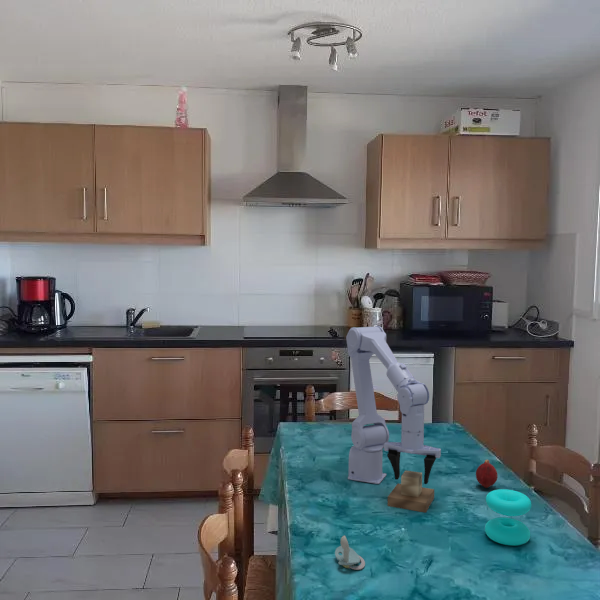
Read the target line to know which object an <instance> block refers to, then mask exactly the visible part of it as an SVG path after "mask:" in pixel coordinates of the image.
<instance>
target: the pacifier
mask: <svg viewBox="0 0 600 600" xmlns="http://www.w3.org/2000/svg"><path fill="white" fill-rule="evenodd" d="M334 555H335V558H336V560H338V565H341V566H342V567H344V568H346V569H352V570H356V571H359V570H363V569H364V567H365V565H366V561H365V559H364V558H363V557H362V556H360V555H359V554H358V553H357V552H356V550H355V549H353V548H352V547H350V545H349V541H348V539H347V537H346V535H343V536H342V537H341V538H340V546H338V547H336V548H335V551H334ZM359 563H360V564H359ZM356 564H359V565H356Z"/></svg>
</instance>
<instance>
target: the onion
mask: <svg viewBox="0 0 600 600" xmlns="http://www.w3.org/2000/svg"><path fill="white" fill-rule="evenodd" d="M498 477H499V476H498V472H497V469H496V468H495V466H494V465H493V464H491V463H490V460H489V459H485V460H484V463H481V464H480V465H478V467H477V469H476V471H475V478H476V481H477V482H478V484H480V486H482V487H483V488H485V489H489V488H490V487H491V486H492V487H493V485H494V484H496V482H497V480H498Z"/></svg>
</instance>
